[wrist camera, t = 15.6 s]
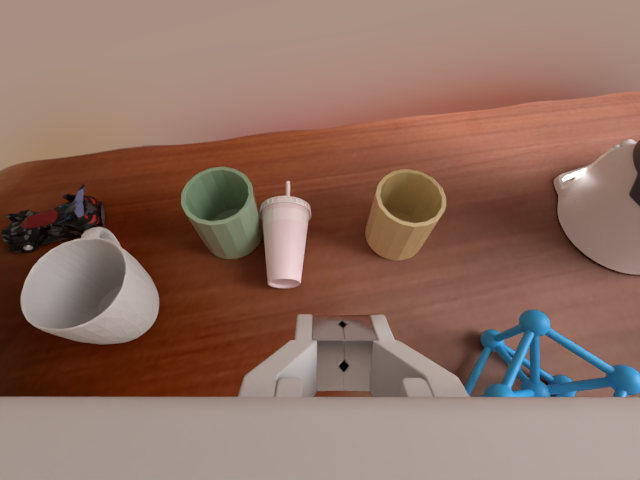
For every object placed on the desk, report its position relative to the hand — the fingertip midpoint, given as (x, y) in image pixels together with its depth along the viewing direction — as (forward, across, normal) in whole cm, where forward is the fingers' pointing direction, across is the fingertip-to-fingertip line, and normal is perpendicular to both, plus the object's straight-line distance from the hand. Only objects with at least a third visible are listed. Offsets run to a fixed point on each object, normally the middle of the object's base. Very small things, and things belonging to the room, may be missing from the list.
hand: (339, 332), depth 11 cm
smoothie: (+24, +4, +9) cm, 26 cm away
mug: (+25, +22, +12) cm, 36 cm away
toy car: (+32, +34, +5) cm, 47 cm away
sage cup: (+32, +11, +5) cm, 34 cm away
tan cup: (+32, -10, +5) cm, 33 cm away
